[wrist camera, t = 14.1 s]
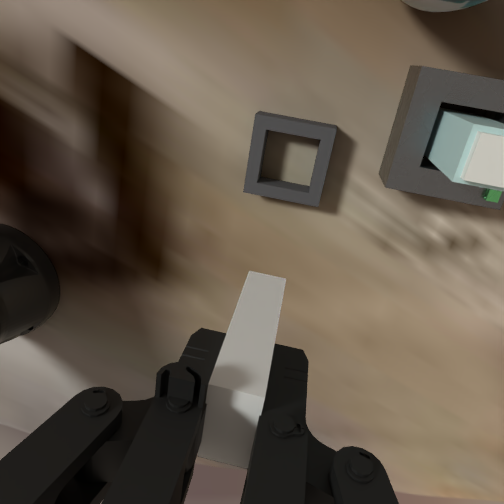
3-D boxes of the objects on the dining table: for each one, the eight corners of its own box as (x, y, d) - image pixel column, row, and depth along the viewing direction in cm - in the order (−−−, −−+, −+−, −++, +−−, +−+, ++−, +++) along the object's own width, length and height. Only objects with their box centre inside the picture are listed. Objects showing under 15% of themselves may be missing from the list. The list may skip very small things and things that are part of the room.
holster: (247, 185, 45) (243, 191, 43) (259, 111, 42) (255, 113, 39) (318, 199, 44) (318, 207, 42) (336, 125, 41) (336, 129, 39)
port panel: (378, 173, 42) (386, 189, 37) (410, 65, 38) (423, 66, 33) (480, 193, 41) (502, 212, 36) (524, 85, 37) (556, 89, 32)
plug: (418, 149, 41) (455, 184, 29) (432, 106, 39) (477, 125, 27) (460, 157, 40) (514, 195, 29) (476, 114, 39) (541, 136, 27)
